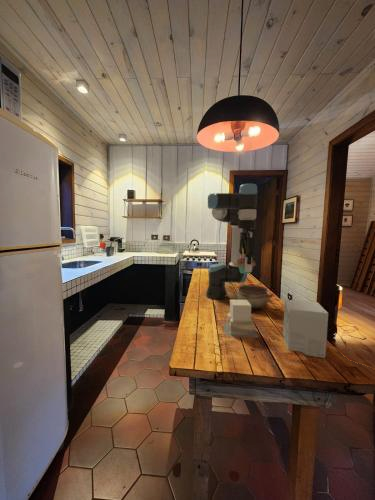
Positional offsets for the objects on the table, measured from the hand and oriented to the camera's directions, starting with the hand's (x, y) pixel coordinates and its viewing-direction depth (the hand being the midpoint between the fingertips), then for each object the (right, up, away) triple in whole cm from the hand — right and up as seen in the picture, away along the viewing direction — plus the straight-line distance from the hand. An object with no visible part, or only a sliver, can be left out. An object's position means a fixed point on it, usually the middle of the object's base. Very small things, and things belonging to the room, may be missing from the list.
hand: (245, 269), depth 99 cm
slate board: (-2, -29, +2) cm, 30 cm away
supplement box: (+21, -31, -10) cm, 38 cm away
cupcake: (0, -2, 0) cm, 2 cm away
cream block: (-2, -22, +1) cm, 22 cm away
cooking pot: (+13, -27, +35) cm, 46 cm away
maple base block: (-2, -28, +2) cm, 28 cm away
